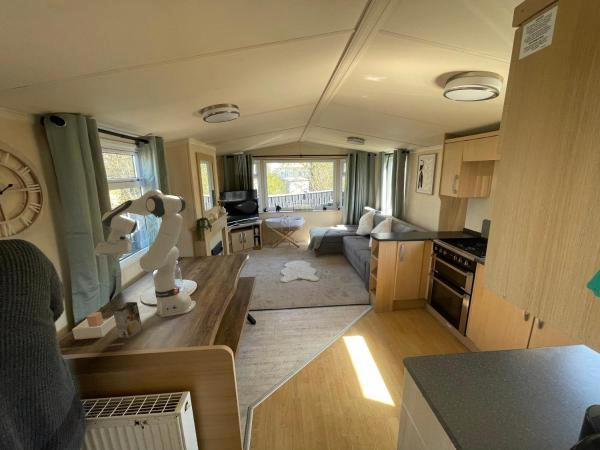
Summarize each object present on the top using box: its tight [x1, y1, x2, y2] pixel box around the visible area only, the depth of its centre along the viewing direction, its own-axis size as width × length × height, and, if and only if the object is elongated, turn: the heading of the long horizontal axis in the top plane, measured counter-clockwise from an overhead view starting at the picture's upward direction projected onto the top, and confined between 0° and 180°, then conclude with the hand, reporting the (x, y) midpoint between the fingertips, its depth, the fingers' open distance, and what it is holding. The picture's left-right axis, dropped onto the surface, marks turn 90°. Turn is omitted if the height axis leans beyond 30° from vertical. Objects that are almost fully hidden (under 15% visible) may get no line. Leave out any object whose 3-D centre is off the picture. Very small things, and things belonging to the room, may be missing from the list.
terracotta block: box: [86, 311, 104, 327], centre depth 142 cm, size 4×4×9 cm
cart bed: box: [71, 314, 117, 340], centre depth 142 cm, size 14×13×6 cm
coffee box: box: [112, 301, 143, 340], centre depth 138 cm, size 9×6×16 cm
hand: (109, 260), depth 159 cm, fingers open, 8 cm apart
